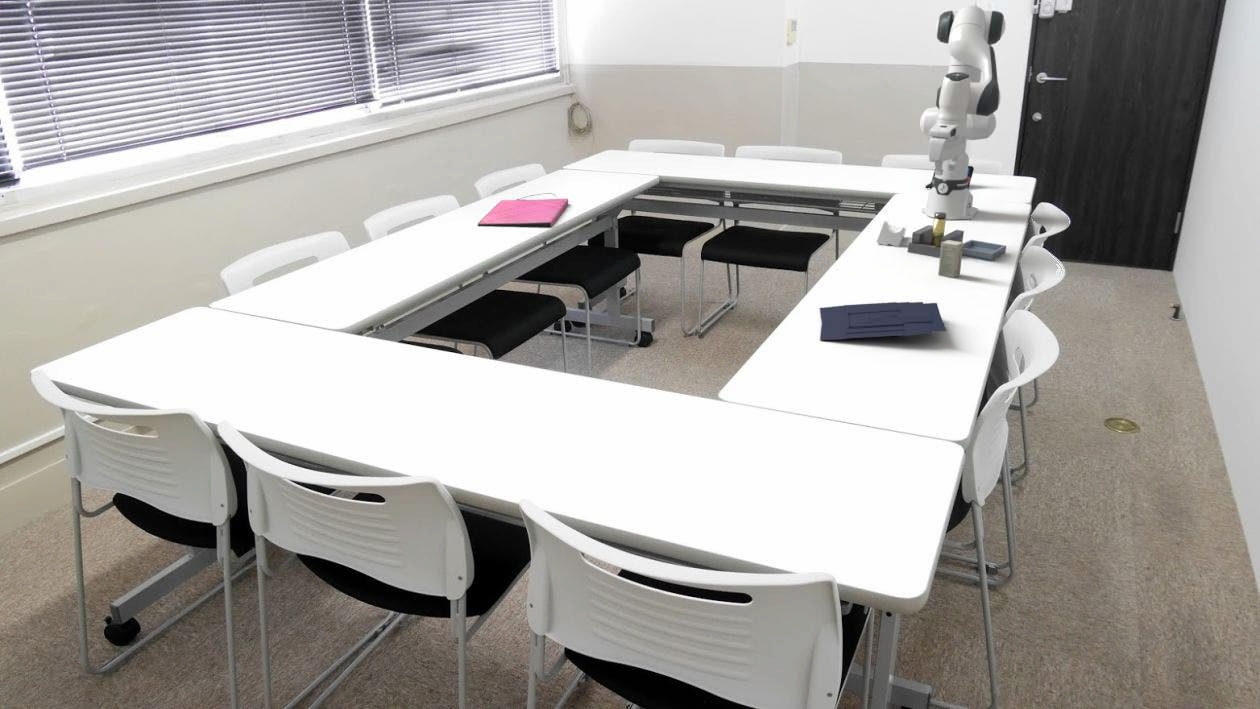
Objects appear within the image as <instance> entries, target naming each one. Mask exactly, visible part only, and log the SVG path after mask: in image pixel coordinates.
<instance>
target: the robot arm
mask: <svg viewBox="0 0 1260 709" xmlns="http://www.w3.org/2000/svg"><path fill="white" fill-rule="evenodd" d="M1005 31H1006V20H1005V16H1004V14H1003V13H1002V12H1000V11H997V10H992V11H991V10H983V9H982V8H981V7H979V6H978V5H977V6H976V5H973V4H971V5H966V6H964V7H962V8H961V9H959V10H956V11H953V10H947V11H943V13H941V14H940V15H939V17H938V19H937V21H936V24H935V34H936V39H937V40H938V41H939V43H943V44H947V45H948V52H949V54H950V57H949V64H948V69H947V70H948V71H947V74H945V75H944V77H943V81H942V84H941V86H939V88H937V92H936V101H935V106H933V107H928V108H926V109H925V110H924V111H923V112H922V114H921V116H920V119H919V128H920V130H921V132H922V134H923V135H924V136H925V137H927V138H928V139H929V144H928V145H929V147H928V159H929V160H928V161H929V162H931V163H934V167H935V168H936V170H935V168H934V171H935V176H934V178H933V177H932V178H933V185H932V186H933V188H932V189H928V192H927V198H926V200H925V201H926V202H925V206H924V207H923V208H921V211H920V212H921V213H923V214H925V215H926V216H927V217H930V218H933V219H934V215H935V213H936V212H943V213H946V220H951V221H952V220H954V221H955V220H956V221H957V220H971V219H973V217H974V216H975V215H976V214H977V213H978V212H979V208H977V207H975V206H974V207H973V202H974V199H973V198H974V195H973V194H972V193H971V191H970V190H969V189H967V187H968V182H970V183H971V181H970V177H967V171H968V166H969V164H970V163H969V162H970V158H969V155H968V153H967V152H966V149H967V140H970V141H975V140H984V139H985V140H986V139H988V138H990V137H991V136H992V134H993V133H994V131H995V130H996V127H997V119H996V115H995V114H994V113H995V112H997V110H998V109H999V106H1000V104H1001V91H1000V86H999V81H998V80H999V79H998V70H997V60H996V53H995V49H994V47H993V46H992V45H995V44H996V43H998V42H1000V40H1001V38H1002V37H1003V35H1004V33H1005ZM981 77H982V78H981ZM981 79H982V80H983V81H981Z"/></svg>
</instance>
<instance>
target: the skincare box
mask: <svg viewBox="0 0 1260 709" xmlns="http://www.w3.org/2000/svg"><path fill="white" fill-rule="evenodd" d="M963 244H964V242H958V241H952V240H947V241H944V242H942V243H941V252H940V258H939V262H938V263H939V264H938V273H937V275H938V276H942V277H947V278H948V277H949V278H957V277H958V276H960V275H961V270H962V269H961V268H962V267H961V266H962V257H963V256H962V251H963Z"/></svg>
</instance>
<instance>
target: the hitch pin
mask: <svg viewBox="0 0 1260 709" xmlns="http://www.w3.org/2000/svg"><path fill="white" fill-rule="evenodd" d="M946 221H947V219H946V213H943V212H936V213H935V215H934V218H933V225H932V226H933V232H932V240H931V246H935V247H940V242H941V237H943V236H945V229H946Z"/></svg>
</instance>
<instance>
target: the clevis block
mask: <svg viewBox="0 0 1260 709" xmlns="http://www.w3.org/2000/svg"><path fill="white" fill-rule="evenodd" d="M932 232H933V225H930V224H928V225H926V226H924V227H921V228H919V229H917V230H915V231H913V232H912V235H911V242H908V245H907V253H910V254H917V255H921V256H926V257H931V258H937V259H940V252H941V243H942V242H944V241H947V240H952V241H958V242H963V240H964V234H965V231H964V230H961V229H954V230H953V231H951V232H949V233H947V234H944V236H943V237H941V242H940V247H935V246H931V240H932ZM963 243H964V242H963Z"/></svg>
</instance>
